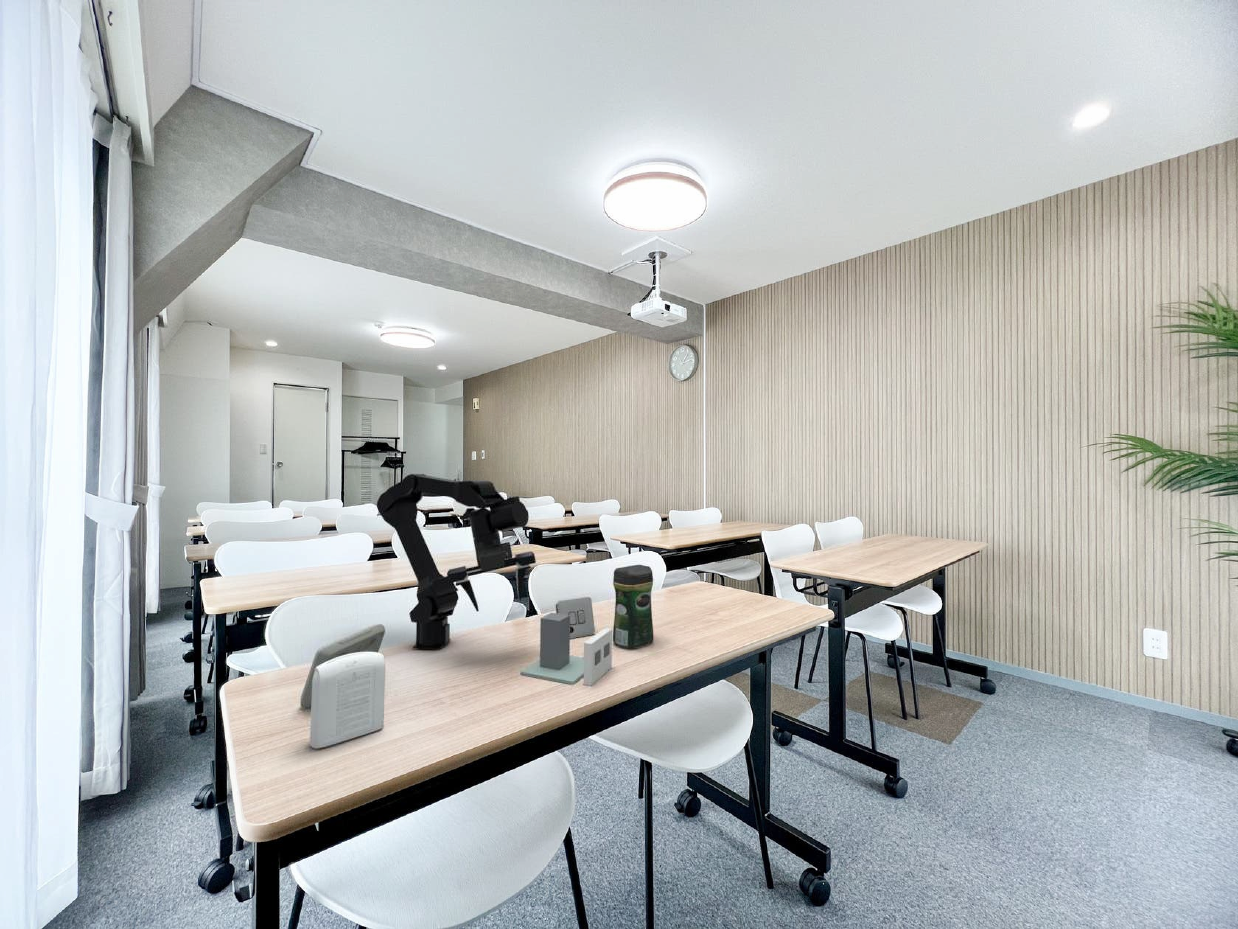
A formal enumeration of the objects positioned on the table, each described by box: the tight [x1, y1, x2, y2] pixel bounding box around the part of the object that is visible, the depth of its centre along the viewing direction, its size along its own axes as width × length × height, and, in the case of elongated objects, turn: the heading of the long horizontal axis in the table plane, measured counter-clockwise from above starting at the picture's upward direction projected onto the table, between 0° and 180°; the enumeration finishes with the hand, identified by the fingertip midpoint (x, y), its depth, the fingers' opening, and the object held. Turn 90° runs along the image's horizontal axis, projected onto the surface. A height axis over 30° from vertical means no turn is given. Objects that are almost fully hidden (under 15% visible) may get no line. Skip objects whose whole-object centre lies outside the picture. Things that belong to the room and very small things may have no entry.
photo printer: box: [309, 651, 386, 750], centre depth 77 cm, size 10×4×12 cm, turn 134°
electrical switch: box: [555, 596, 596, 640], centre depth 126 cm, size 9×5×9 cm, turn 121°
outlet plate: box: [583, 627, 613, 687], centre depth 101 cm, size 2×10×8 cm, turn 157°
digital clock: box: [299, 623, 386, 709], centre depth 92 cm, size 16×9×11 cm, turn 156°
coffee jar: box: [612, 564, 654, 649], centre depth 120 cm, size 10×8×19 cm
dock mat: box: [519, 655, 584, 686], centre depth 104 cm, size 12×12×1 cm
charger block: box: [539, 612, 571, 670], centre depth 105 cm, size 5×4×10 cm
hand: (499, 605), depth 110 cm, fingers open, 9 cm apart
